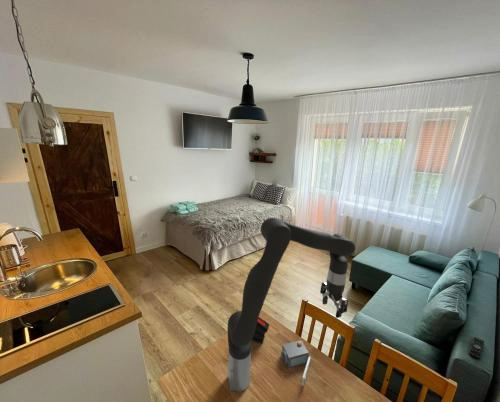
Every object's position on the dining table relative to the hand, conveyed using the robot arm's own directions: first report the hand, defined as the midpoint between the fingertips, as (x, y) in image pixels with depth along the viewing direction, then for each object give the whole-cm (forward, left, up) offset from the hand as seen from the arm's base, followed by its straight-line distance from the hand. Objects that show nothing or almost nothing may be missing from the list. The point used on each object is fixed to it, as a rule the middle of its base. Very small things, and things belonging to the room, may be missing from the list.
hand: (331, 310), depth 101 cm
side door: (-13, -5, -27) cm, 31 cm away
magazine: (-29, +18, -28) cm, 44 cm away
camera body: (-14, +3, -28) cm, 31 cm away
